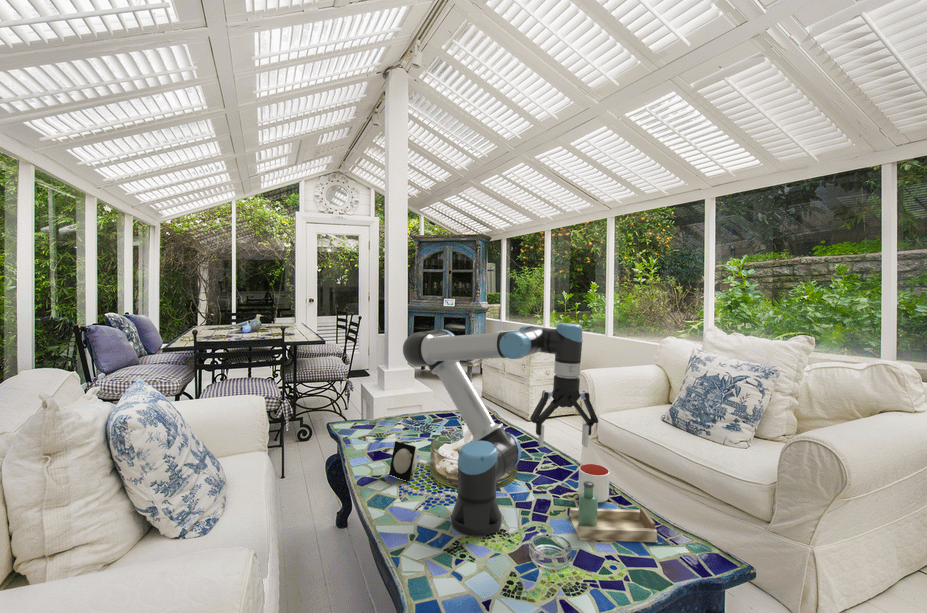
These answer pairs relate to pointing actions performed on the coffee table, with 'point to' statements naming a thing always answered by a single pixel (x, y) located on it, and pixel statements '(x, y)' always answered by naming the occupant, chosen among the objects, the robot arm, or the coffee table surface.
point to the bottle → (588, 506)
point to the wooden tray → (617, 526)
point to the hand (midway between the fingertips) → (562, 445)
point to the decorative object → (403, 461)
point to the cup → (595, 480)
